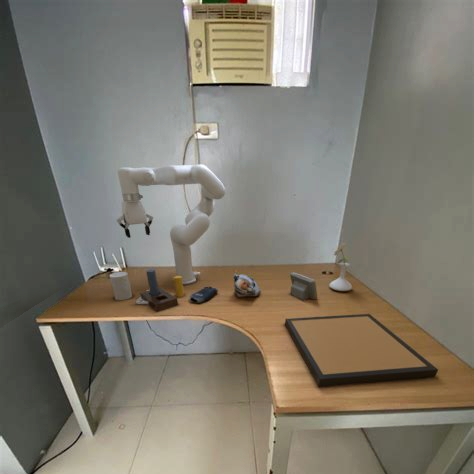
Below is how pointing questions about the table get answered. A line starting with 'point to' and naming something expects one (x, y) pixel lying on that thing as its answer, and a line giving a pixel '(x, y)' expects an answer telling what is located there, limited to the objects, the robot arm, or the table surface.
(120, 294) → the cup
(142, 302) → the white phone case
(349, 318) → the cork board
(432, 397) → the table surface
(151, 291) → the blue peg
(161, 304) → the stand
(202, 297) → the electronic device
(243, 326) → the table surface
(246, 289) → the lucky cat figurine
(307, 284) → the digital clock
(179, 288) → the mustard peg
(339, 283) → the flower in vase
